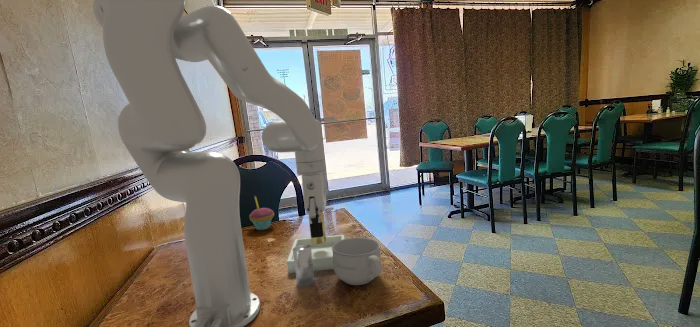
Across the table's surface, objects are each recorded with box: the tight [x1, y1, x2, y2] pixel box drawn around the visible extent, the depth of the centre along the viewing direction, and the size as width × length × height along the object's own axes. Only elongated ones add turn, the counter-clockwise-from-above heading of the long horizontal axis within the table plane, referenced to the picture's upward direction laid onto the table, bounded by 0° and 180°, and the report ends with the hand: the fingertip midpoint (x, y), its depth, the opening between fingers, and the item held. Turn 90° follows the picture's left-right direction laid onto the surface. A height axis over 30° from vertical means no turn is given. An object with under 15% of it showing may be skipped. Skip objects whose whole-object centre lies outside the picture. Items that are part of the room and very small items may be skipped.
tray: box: [286, 234, 345, 274], centre depth 80 cm, size 14×14×3 cm
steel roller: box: [293, 245, 315, 288], centre depth 68 cm, size 4×4×8 cm
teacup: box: [332, 236, 383, 286], centre depth 66 cm, size 14×11×8 cm
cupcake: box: [248, 194, 275, 231], centre depth 107 cm, size 9×8×12 cm
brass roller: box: [307, 210, 327, 244], centre depth 82 cm, size 4×4×8 cm
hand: (318, 232), depth 82 cm, fingers closed on brass roller, 4 cm apart
